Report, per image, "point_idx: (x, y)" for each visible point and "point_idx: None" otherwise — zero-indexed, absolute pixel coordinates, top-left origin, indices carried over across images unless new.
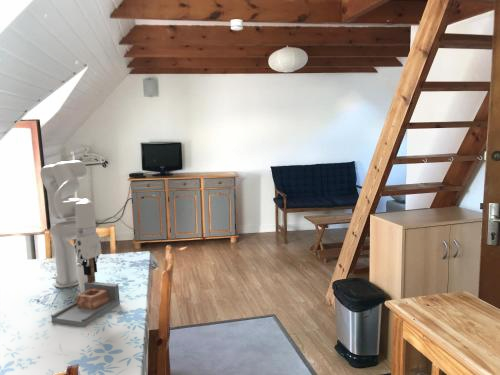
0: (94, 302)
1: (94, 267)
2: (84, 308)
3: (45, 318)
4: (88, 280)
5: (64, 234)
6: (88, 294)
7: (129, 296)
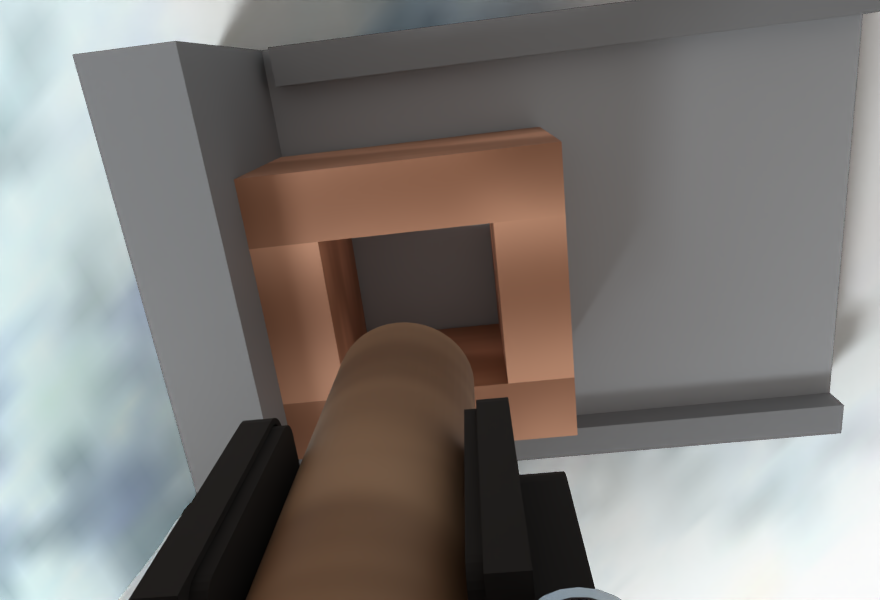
0: (548, 135)
1: (257, 528)
2: None
3: (744, 509)
4: None
5: None
6: None
7: (3, 116)
